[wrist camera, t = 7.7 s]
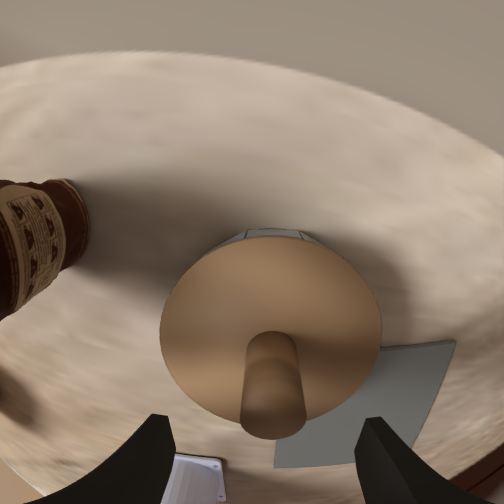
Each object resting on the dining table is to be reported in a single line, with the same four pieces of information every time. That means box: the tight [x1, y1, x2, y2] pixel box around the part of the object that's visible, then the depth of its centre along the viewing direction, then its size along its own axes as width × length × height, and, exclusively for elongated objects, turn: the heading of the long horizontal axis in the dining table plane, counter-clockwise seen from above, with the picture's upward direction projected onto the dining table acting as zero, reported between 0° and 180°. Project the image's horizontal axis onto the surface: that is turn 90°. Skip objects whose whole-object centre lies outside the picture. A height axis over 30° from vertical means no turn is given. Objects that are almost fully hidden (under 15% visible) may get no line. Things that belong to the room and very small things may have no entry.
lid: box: [160, 235, 382, 440], centre depth 13 cm, size 12×12×6 cm
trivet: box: [274, 340, 456, 468], centre depth 21 cm, size 14×14×1 cm
